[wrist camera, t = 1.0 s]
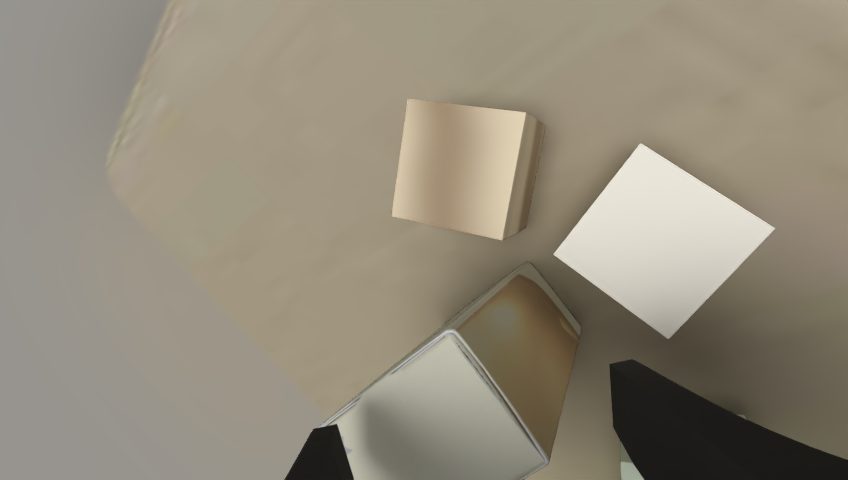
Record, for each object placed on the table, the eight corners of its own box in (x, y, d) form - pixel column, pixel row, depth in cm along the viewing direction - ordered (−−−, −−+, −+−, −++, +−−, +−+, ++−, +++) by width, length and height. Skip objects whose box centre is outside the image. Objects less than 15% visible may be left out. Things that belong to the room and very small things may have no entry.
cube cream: (740, 216, 20) (775, 228, 15) (659, 304, 21) (668, 339, 17) (637, 150, 21) (640, 142, 16) (567, 238, 23) (553, 254, 18)
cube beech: (546, 125, 22) (526, 112, 18) (525, 227, 23) (501, 240, 19) (448, 113, 24) (407, 99, 20) (433, 208, 25) (391, 216, 21)
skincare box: (490, 390, 25) (382, 562, 14) (441, 324, 26) (300, 438, 15) (590, 325, 23) (557, 471, 11) (532, 254, 23) (448, 326, 12)
